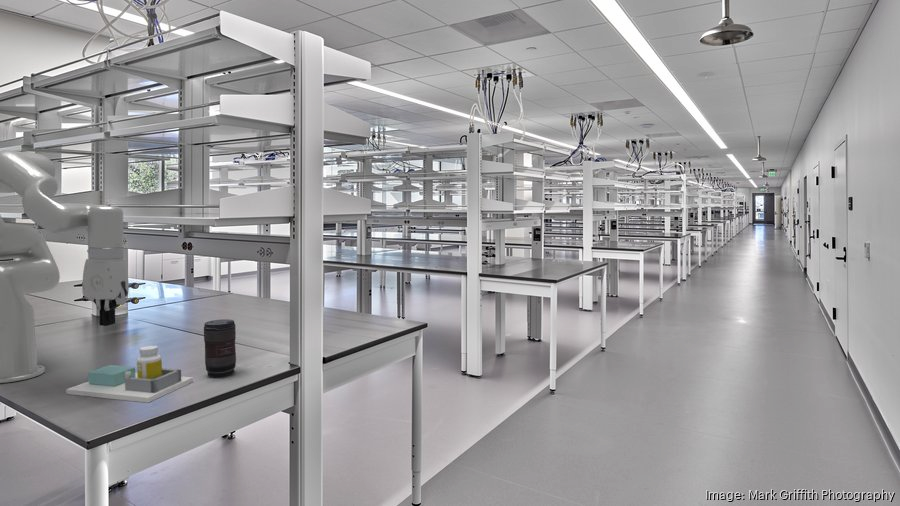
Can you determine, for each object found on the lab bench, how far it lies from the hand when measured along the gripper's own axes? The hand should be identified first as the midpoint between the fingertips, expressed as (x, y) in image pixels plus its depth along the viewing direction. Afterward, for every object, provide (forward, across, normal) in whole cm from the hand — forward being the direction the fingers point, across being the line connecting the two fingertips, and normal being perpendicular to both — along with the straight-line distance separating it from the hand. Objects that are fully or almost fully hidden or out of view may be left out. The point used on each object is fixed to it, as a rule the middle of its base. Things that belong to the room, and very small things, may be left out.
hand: (107, 324), depth 130 cm
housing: (+15, +1, 0) cm, 15 cm away
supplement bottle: (+15, +13, 0) cm, 20 cm away
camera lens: (+16, +22, +15) cm, 31 cm away
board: (+16, +7, 0) cm, 18 cm away
